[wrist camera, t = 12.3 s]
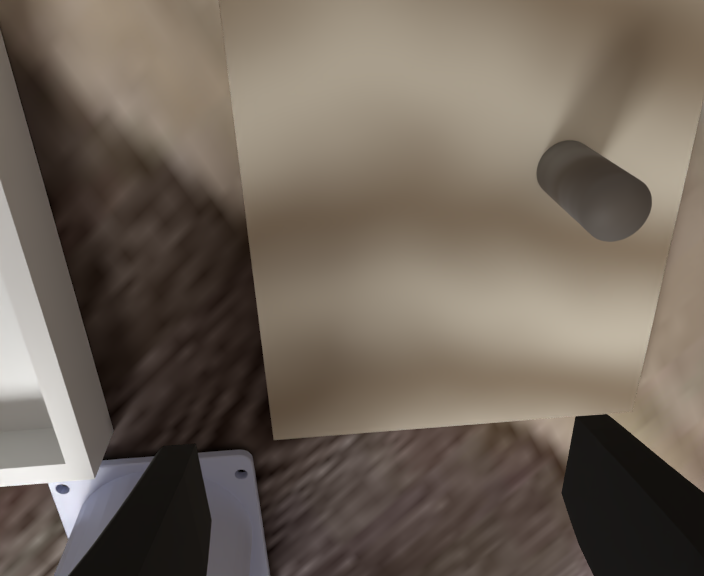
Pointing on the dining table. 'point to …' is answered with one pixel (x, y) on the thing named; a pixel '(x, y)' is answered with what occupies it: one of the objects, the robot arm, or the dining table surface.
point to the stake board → (458, 201)
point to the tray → (40, 327)
